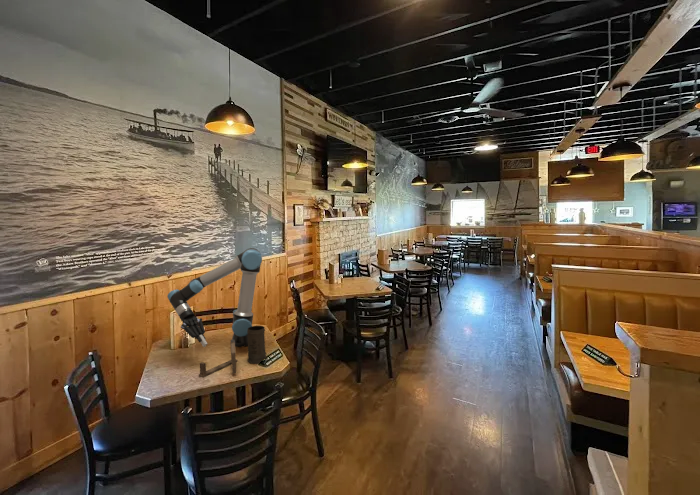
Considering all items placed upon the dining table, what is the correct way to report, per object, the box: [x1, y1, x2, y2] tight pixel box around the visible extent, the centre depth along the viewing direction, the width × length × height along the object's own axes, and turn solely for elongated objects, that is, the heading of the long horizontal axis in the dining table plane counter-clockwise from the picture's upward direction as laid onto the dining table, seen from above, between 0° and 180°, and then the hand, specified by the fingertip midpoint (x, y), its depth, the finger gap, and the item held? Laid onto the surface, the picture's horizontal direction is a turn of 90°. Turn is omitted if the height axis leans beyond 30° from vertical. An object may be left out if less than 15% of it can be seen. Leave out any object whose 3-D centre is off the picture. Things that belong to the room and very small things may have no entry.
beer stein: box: [247, 325, 267, 365], centre depth 201 cm, size 15×11×20 cm
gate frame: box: [198, 339, 239, 378], centre depth 189 cm, size 23×4×13 cm, turn 149°
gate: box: [230, 341, 237, 374], centre depth 188 cm, size 17×2×11 cm, turn 20°
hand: (205, 345), depth 191 cm, fingers closed
